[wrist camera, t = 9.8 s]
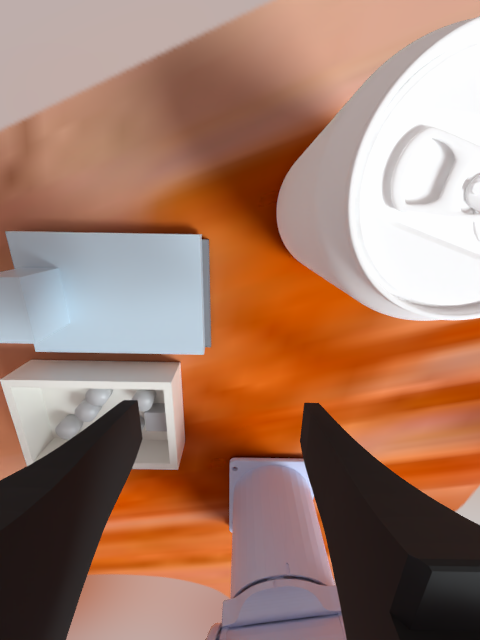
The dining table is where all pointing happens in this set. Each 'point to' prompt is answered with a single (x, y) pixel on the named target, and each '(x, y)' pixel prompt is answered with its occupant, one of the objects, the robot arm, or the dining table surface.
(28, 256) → the lid
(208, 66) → the dining table surface
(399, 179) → the beverage can
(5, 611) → the robot arm
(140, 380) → the tub
